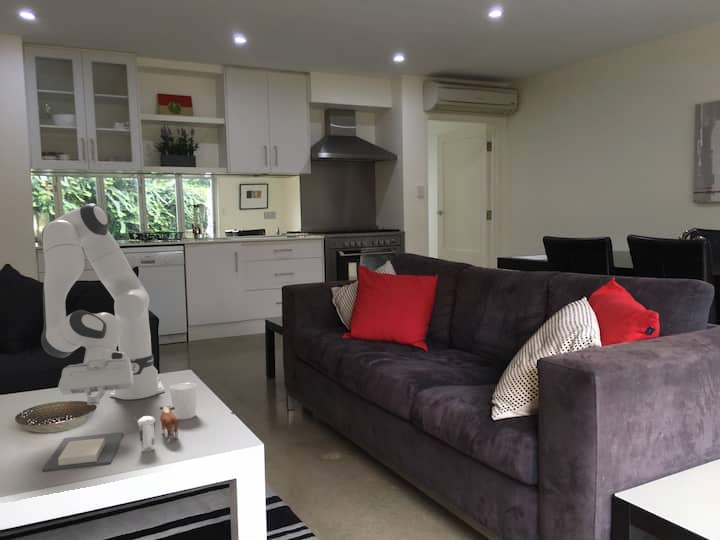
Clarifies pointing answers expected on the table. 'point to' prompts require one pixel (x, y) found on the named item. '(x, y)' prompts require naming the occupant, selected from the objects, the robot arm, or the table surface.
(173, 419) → the bull figurine
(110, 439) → the mat
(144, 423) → the milkshake
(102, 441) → the tile
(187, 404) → the white cup
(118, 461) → the table surface
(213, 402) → the table surface
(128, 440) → the table surface
